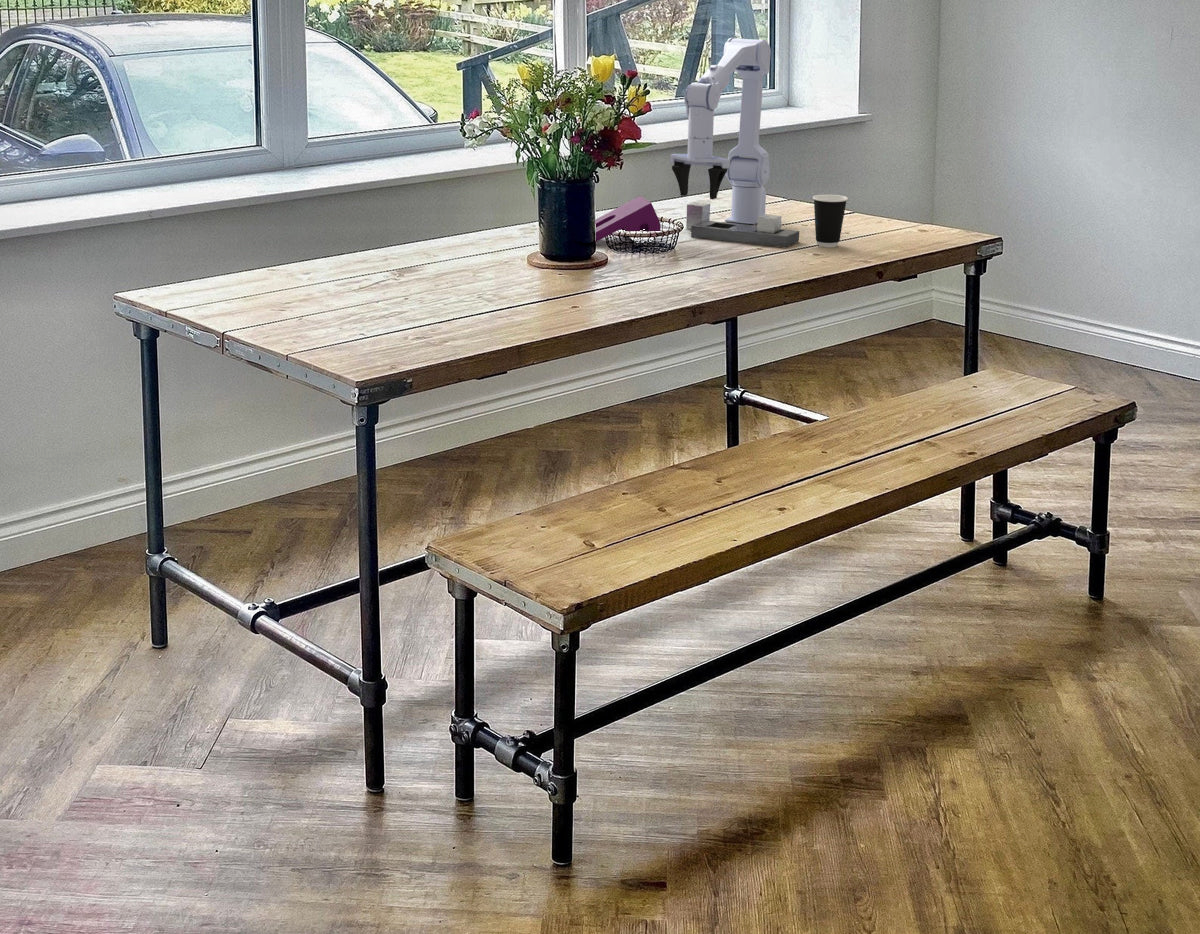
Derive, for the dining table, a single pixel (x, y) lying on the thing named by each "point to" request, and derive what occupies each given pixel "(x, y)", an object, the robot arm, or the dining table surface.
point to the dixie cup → (829, 218)
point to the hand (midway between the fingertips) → (698, 197)
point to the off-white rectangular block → (769, 224)
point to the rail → (743, 234)
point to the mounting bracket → (628, 218)
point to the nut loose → (697, 213)
